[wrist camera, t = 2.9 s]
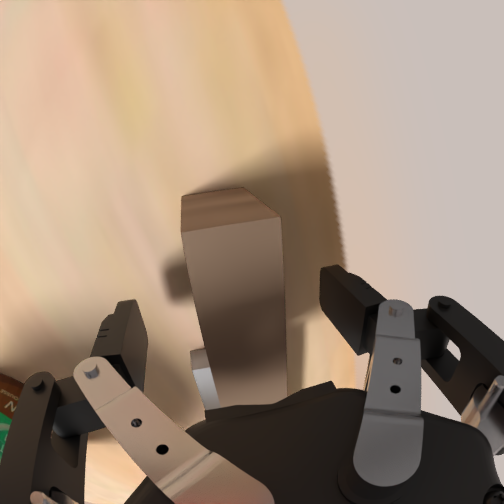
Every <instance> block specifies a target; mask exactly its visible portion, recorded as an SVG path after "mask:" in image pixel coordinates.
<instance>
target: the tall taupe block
mask: <svg viewBox="0 0 504 504" xmlns="http://www.w3.org/2000/svg"><path fill="white" fill-rule="evenodd" d="M181 237H182V242H183V248H184V253H185V259H186V264H187V269H188V274H189V279H190V284H191V288H192V293H193V298H194V302H195V307H196V311H197V316H198V320H199V325H200V329H201V333H202V337H203V341H204V346H205V349H200V350H194V351H190V355H191V365H192V372H193V375H194V378H195V381H196V384H197V387H198V390H199V393H200V396H201V399H202V402H203V404H204V407H205V410H210V409H216V408H222V407H228V406H233V405H261V404H273V403H276V402H278V401H280V400H282V399H284V398H286V397H287V355H286V319H285V291H284V268H283V247H282V229H281V217H280V216H279V215H278V214H277V213H275V212H274V211H273V210H271V209H270V208H269V207H268V206H266V205H265V204H264V203H263V202H261V201H260V200H259V199H258V198H256V197H255V196H254V195H252V194H251V193H250V192H249V191H247V190H246V189H245V188H243V187H241V188H234V189H227V190H220V191H213V192H206V193H200V194H193V195H187V196H182V198H181Z"/></svg>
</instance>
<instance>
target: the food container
mask: <svg viewBox="0 0 504 504" xmlns="http://www.w3.org/2000/svg"><path fill="white" fill-rule="evenodd" d="M23 387H24V384H23V383H21V382H19V381H17V380H15V379H13V378H11V377H9V376H6V375H4V374H1V373H0V462H1V458H2V453H3V449H4V446H5V442H6V438H7V435H8V431H9V428H10V424H11V421H12V418H13V415H14V412H15V409H16V406H17V403H18V400H19V397H20V395H21V392H22V389H23ZM52 431H53V429H52ZM51 436H52V434H51Z"/></svg>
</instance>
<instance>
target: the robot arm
mask: <svg viewBox="0 0 504 504" xmlns="http://www.w3.org/2000/svg"><path fill="white" fill-rule="evenodd" d="M319 300H320V305H321V308H322V311H323V312H324V313H325V315H326V316H327V317H328V318H329V320H330V321H331V322H332V323H333V325H334V326H335V327H336V329H337V330H338V331H339V332H340V334H341V335H342V336H343V337H344V339H345V340H346V341H347V342H348V344H349V345H350V346H351V348H352V349H353V350H354V351H355V353H356V354H357V355H362V354H364V353H367V352H368V353H369V354H370V357H369V361H368V367H367V372H366V378H365V383H364V387H363V390H359V389H352V388H338V389H336V387H335V386H334V384H333V382H332V381H329V382H325V383H322V384H319V385H316V386H312V387H309V388H305V389H302V390H300V391H298V392H296V393H294V394H292V395H290V396H288V397H286V398H284V399H282V400H280V401H278V402H276V403H273V404H261V405H233V406H228V407H222V408H216V409H210V410H204V411H205V418H206V420H203V421H201V422H199V423H197V424H195V425H193V426H191V427H190V428H188V429H187V430H185V431H184V430H182V429H181V428H180V427H179V426H178V425H177V424H175V423H174V422H173V421H172V420H171V419H170V418H169V417H168V416H166V415H165V414H164V413H163V412H162V411H161V410H160V409H159V408H158V407H157V406H156V405H155V404H154V403H152V402H151V401H150V400H149V399H148V398H147V397H146V396H145V395H144V394H143V391H144V378H145V367H146V357H147V348H148V337H147V332H146V328H145V325H144V322H143V319H142V316H141V313H140V310H139V307H138V304H137V301H136V300H135V299H134V300H127V301H120V302H118V304H117V306H116V309H115V312H114V314H110V315H108V316H107V317H106V318H105V319H104V321H103V322H102V324H101V326H100V329H99V332H98V335H97V338H96V340H95V343H94V346H93V349H92V352H91V355H90V358H87V359H85V360H83V361H81V362H80V363H79V364H78V365H77V366H76V368H75V369H74V372H73V376H72V377H69V378H66V379H62V380H59V381H55V379H54V377H53V376H52V375H51V374H50V373H48V372H39V373H36V374H34V375H32V376H31V377H30V378H29V379H28V380H27V381H26V382H25V384H24V387H23V389H22V392H21V395H20V397H19V400H18V403H17V406H16V409H15V412H14V415H13V418H12V421H11V424H10V428H9V431H8V435H7V438H6V442H5V446H4V449H3V453H2V458H1V462H0V504H84V485H85V463H86V450H87V439H88V432H91V431H95V430H98V429H101V428H105V427H107V428H108V430H109V431H110V432H111V434H112V435H113V436H114V438H115V439H116V440H117V441H118V443H119V444H120V445H121V446H122V448H123V449H124V450H125V451H126V452H127V454H128V455H129V456H130V457H131V458H132V460H133V461H134V462H135V463H136V464H137V465H138V466H139V468H140V469H141V470H142V471H143V472H144V473H145V474H146V475H147V476H146V478H145V479H144V480H143V481H142V483H141V484H140V485H139V486H138V487H137V489H136V490H135V491H134V492H133V493H132V495H131V496H130V497H129V498H128V499H127V501H126V502H125V503H124V504H504V487H503V485H502V484H501V482H500V480H499V477H498V475H497V472H496V468H495V464H494V458H493V456H494V455H501V454H504V341H503V340H502V339H501V338H500V337H499V336H497V335H496V334H495V333H494V332H493V331H492V330H490V329H489V328H488V327H487V326H486V325H484V324H483V323H482V322H481V321H480V320H478V319H477V318H476V317H475V316H474V315H472V314H471V313H470V312H469V311H467V310H466V309H465V308H464V307H463V306H461V305H460V304H459V303H457V302H456V301H455V300H453V299H451V298H449V297H446V296H435V297H432V298H431V299H430V300H429V304H428V308H427V309H416V310H413V308H412V307H411V306H410V305H409V304H408V303H406V302H404V301H401V300H387V299H386V298H384V297H383V296H382V295H381V294H380V293H379V292H377V291H376V290H375V289H374V288H372V287H371V286H370V285H369V284H368V283H366V281H364V280H363V279H362V278H361V277H359V276H357V275H354V274H352V273H348V272H347V271H345V270H344V269H343V268H342V267H341V266H339V265H332V266H327V267H323V268H321V271H320V296H319ZM449 340H452V342H453V343H454V344H455V345H456V346H457V347H458V348H459V349H460V353H461V358H460V361H459V360H458V359H457V358H456V357H454V355H453V354H452V353H451V352H450V351H449V350H448V349H447V345H448V342H449ZM421 367H422V369H423V370H424V371H425V372H426V373H427V374H428V376H429V377H430V378H431V379H432V381H433V382H434V383H435V384H436V385H437V387H438V388H439V389H440V390H441V392H442V393H443V394H444V395H445V397H446V398H447V399H448V400H449V401H450V403H451V404H452V405H453V407H454V408H455V409H456V410H457V412H458V413H459V414H460V415H461V422H459V421H455V420H452V419H448V418H445V417H441V416H438V415H434V414H431V413H428V412H425V411H422V410H421ZM52 429H53V431H52ZM51 434H52V436H51Z"/></svg>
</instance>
